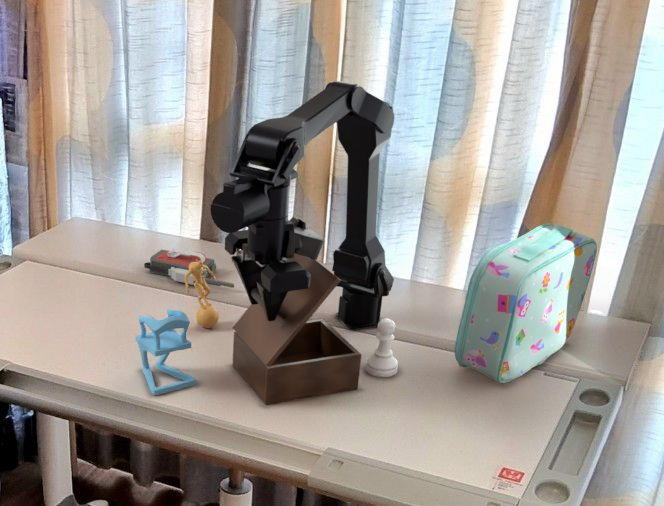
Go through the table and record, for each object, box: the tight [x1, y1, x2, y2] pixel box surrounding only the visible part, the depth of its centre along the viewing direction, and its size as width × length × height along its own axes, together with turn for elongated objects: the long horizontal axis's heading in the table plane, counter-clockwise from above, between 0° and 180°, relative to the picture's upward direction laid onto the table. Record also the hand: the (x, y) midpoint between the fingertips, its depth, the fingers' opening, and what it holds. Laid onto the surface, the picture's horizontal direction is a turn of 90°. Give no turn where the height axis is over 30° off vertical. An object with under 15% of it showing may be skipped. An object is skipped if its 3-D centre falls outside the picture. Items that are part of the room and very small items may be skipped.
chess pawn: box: [365, 318, 399, 378], centre depth 166 cm, size 5×5×9 cm
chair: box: [135, 308, 197, 396], centre depth 164 cm, size 8×8×12 cm
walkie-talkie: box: [143, 248, 235, 289], centre depth 201 cm, size 9×4×20 cm
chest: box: [232, 318, 362, 406], centre depth 165 cm, size 16×14×6 cm
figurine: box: [184, 260, 220, 329], centre depth 181 cm, size 8×6×12 cm
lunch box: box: [454, 222, 598, 384], centre depth 166 cm, size 27×10×21 cm, turn 134°
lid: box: [232, 253, 341, 367], centre depth 158 cm, size 16×14×5 cm
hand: (262, 312), depth 159 cm, fingers closed on lid, 6 cm apart
